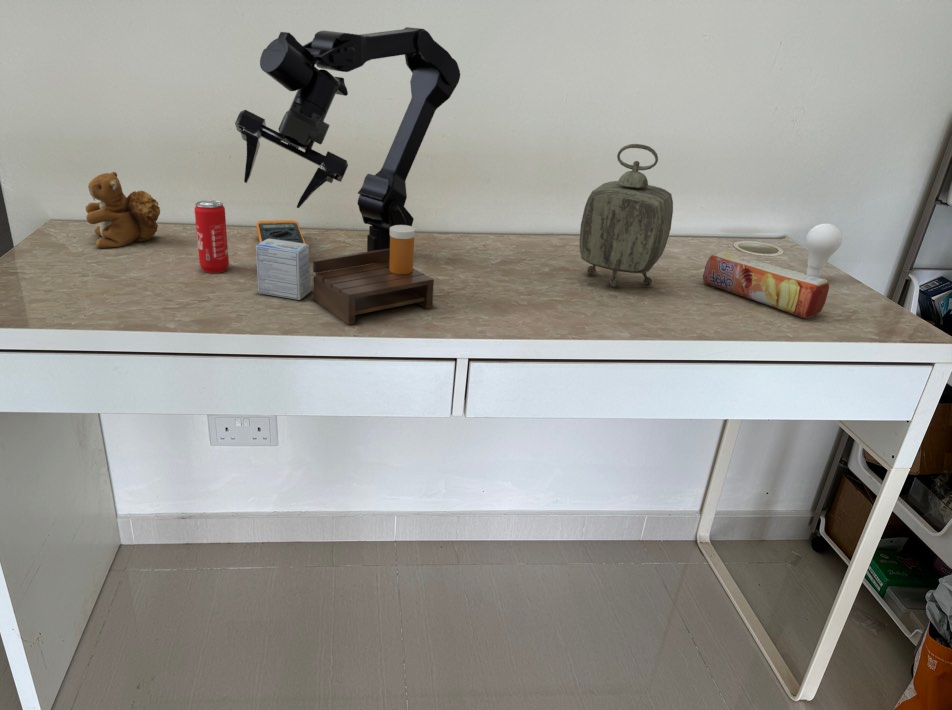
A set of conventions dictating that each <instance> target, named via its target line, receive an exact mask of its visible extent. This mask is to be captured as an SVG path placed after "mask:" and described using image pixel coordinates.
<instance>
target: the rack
mask: <svg viewBox="0 0 952 710" xmlns="http://www.w3.org/2000/svg"><path fill="white" fill-rule="evenodd" d="M389 259H390V248H388V249H381V250H375V251H369V252H367V251H363V252H356V253H350V254H343V255H337V256H331V257H330V256H329V257H325V258H318V259H317V258H316V259H313V260H312V270H313V271H312V272H313V273H315V275H314V276H313V277H312V278H313V301H314V302H316V303H317V304H318V305H320V306H322V307H323V308H324V309H326V310H327V311H329V312H330V313H332V314H333V315H334V316H336V317H337V318H338V319H339V320H341V321H343V322H344V323H345V324H347V325H349V326H351V325H354V324H356V316H357V315H363V314H366V313H367V314H368V313H371V312H376V311H382V310H388V309H392V308H396V307H401V306H406V305H412V304H418V305H419V306H421V307H423V308H425V309H431V308H433V300H434V283H435V282H434V281H435V278H433V277H430V276H429V275H427V274H425V273H423V272H421V271H420V270H417V269H415V268H414V267H413V272H412V273H409V274H395V273H392V272H390V271H389ZM385 261H387V262H385ZM379 262H381V263H379Z"/></svg>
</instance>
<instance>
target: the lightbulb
mask: <svg viewBox="0 0 952 710" xmlns="http://www.w3.org/2000/svg"><path fill="white" fill-rule="evenodd" d="M842 243H843V234H842V232H841V230H840V229H839V228H838V227H837V226H836V225H834V224H833V223H828V222H827V223H820V224H817V225H815V226H813V227H812V228H811V229H810V230H809V231H808V233H807V234H806V237H805V245H806V246H805V247H806V249H807V255H808V256H807V257H808V258H807V264H806V265H807V269H806V273H805V274H806V275H809V276H813V277H817V278H821V275H822V272H823V271H824V268H825V267H826V264H828V261H829V259H830V258H831V256H833V255H834V254H835V253H836V252H837V251H838V250H839V249H840V247H841V246H842Z"/></svg>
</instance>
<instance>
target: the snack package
mask: <svg viewBox="0 0 952 710" xmlns="http://www.w3.org/2000/svg"><path fill="white" fill-rule="evenodd" d="M702 280H703V282H704V283H705V284H706V285H708V286H710V287H714V288H718V289H720V290H723V291H727V292H729V293H732V294H735V295H737V296H740V297H743V298H745V299H749V300H752V301H755V302H758V303H761V304H763V305H767V306H769V307H771V308H775V309H777V310H781V311H784V312H786V313H789V314H792V315H795V316H797V317H799V318H802V319H810V318H813V317H815V316H817V315H818V314H819V313H821V312H822V310H823V309H824V306H825V304H826V301H827V297H828V294H829V291H830V282H829V281H828V280H827V279H825V278H821V277H819V278H817V277H813V276H809V275H806V273H802V272H799V271H795V270H791V269H787V268H783V267H781V266H776V265H773V264H770V263H765V262H762V261H758V260H755V259H753V258H748V257H745V256H740V255H735V254H733V253H729V252H727V251H724V250H723V251H718V252H716V253H713V254H711V255H710V256H709V258H708V259H707V261H706V264H705V267H704V270H703V274H702Z"/></svg>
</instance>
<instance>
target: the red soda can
mask: <svg viewBox="0 0 952 710" xmlns="http://www.w3.org/2000/svg"><path fill="white" fill-rule="evenodd" d="M194 217H195V230H196V231H195V232H196V240H197V251H198V261H199V262H198V263H199V266H200V268H201V269H202V270H201V271H202V272H204V273H208V274H220V273H224V272H226V271H227V270H228V267H229V263H230V262H229V260H230V258H229V246H228V234H227V233H228V232H227V221H226V208H225V206H224V203H223V202H222V201H220V200H212V199H210V200H209V199H207V200H200V201H197V202H195V207H194Z"/></svg>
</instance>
